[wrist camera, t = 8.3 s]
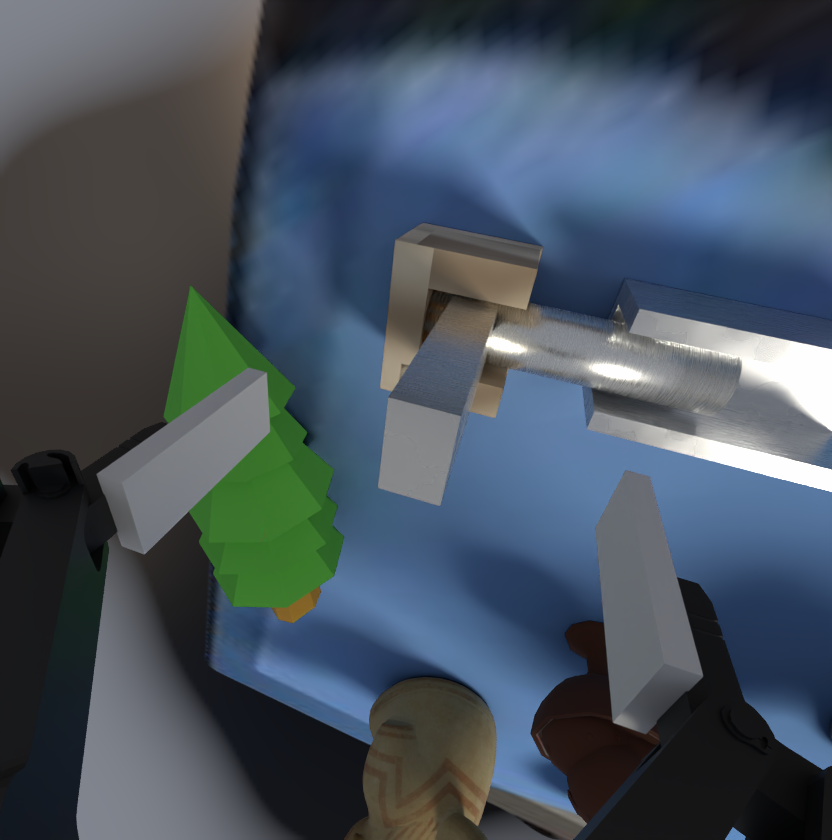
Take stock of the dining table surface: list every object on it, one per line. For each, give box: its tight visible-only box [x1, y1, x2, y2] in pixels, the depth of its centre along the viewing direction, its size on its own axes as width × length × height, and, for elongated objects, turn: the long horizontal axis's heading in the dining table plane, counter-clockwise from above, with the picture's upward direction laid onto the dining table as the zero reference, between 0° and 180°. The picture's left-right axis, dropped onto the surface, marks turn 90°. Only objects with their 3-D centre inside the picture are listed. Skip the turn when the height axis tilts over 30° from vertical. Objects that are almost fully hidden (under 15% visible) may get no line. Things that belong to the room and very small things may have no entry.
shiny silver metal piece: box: [378, 290, 742, 506], centre depth 20 cm, size 4×16×15 cm, turn 82°
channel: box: [582, 278, 832, 491], centre depth 24 cm, size 7×14×6 cm, turn 82°
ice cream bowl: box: [531, 621, 660, 824], centre depth 36 cm, size 11×11×15 cm
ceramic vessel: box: [344, 677, 496, 840], centre depth 46 cm, size 17×20×25 cm
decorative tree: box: [164, 286, 344, 623], centre depth 34 cm, size 11×12×30 cm
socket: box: [380, 223, 543, 418], centre depth 26 cm, size 9×7×6 cm
